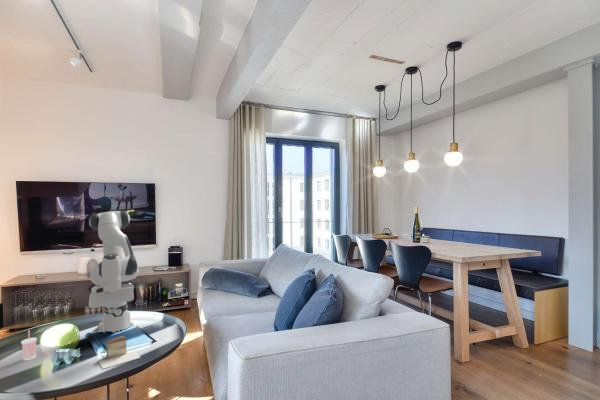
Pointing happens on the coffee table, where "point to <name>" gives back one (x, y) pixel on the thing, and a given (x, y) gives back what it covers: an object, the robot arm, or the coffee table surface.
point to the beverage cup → (29, 347)
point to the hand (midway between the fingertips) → (112, 312)
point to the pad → (119, 360)
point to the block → (116, 347)
